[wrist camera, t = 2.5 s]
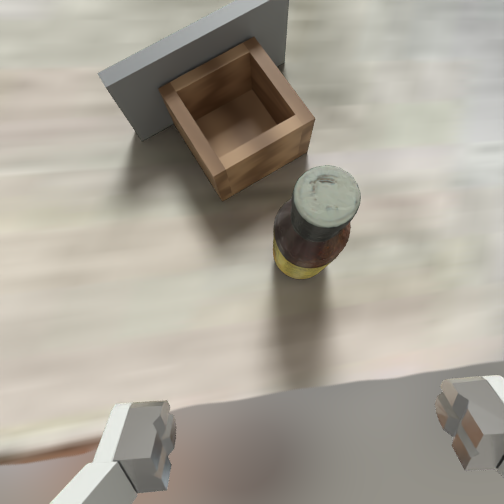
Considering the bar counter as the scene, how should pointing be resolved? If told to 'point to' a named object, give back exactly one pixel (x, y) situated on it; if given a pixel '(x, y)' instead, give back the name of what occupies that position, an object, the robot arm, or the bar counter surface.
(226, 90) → the wooden box
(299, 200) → the sauce bottle
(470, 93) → the bar counter surface
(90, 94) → the bar counter surface
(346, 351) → the bar counter surface
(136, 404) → the robot arm
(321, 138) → the bar counter surface
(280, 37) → the backstop wall
